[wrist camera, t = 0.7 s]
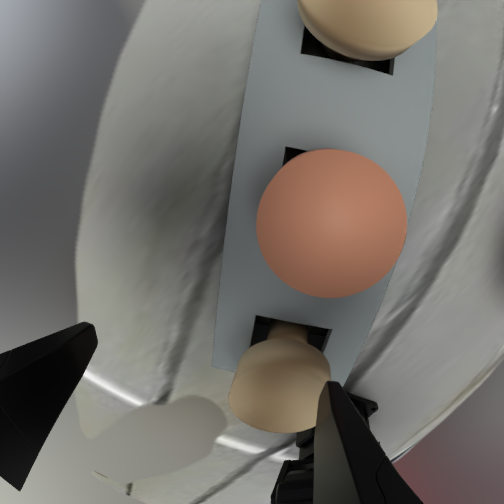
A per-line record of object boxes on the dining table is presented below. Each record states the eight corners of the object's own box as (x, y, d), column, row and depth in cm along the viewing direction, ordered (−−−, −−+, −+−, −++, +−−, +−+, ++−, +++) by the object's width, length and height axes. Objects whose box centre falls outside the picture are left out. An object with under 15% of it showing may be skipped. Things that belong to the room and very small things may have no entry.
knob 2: (389, 20, 11) (433, -36, 5) (382, 93, 13) (437, 64, 7) (304, 1, 12) (302, -70, 5) (293, 73, 14) (287, 24, 7)
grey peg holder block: (407, 37, 13) (435, 12, 8) (336, 346, 22) (340, 390, 18) (275, 7, 14) (266, -29, 9) (228, 325, 23) (211, 366, 18)
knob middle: (372, 158, 15) (422, 172, 8) (352, 242, 17) (381, 308, 10) (283, 138, 15) (269, 135, 9) (268, 225, 17) (246, 282, 11)
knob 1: (335, 299, 18) (347, 380, 12) (315, 356, 20) (314, 438, 14) (258, 283, 19) (233, 360, 12) (247, 343, 21) (224, 422, 14)
